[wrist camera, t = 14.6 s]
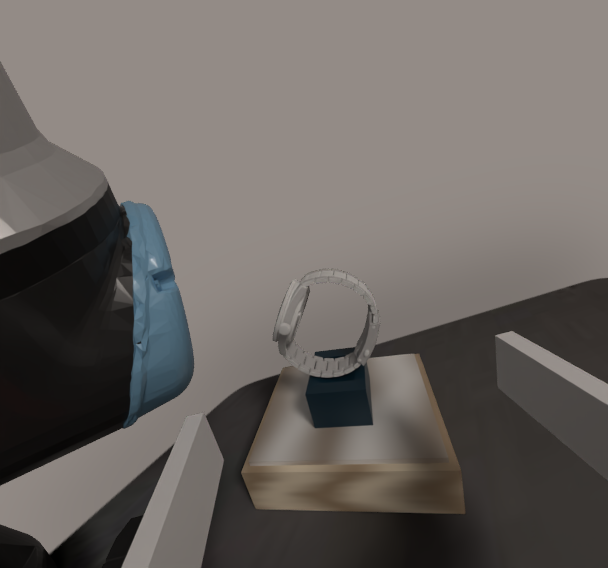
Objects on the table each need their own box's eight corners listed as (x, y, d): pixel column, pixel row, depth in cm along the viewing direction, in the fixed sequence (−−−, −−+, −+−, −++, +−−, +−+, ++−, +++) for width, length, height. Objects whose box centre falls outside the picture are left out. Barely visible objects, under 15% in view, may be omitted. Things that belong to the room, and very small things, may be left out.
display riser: (255, 509, 21) (239, 468, 20) (291, 394, 32) (281, 364, 31) (465, 514, 17) (460, 465, 16) (423, 384, 29) (418, 350, 27)
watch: (302, 382, 27) (271, 273, 24) (389, 374, 25) (368, 254, 22) (289, 430, 22) (247, 299, 19) (399, 425, 20) (373, 277, 17)
